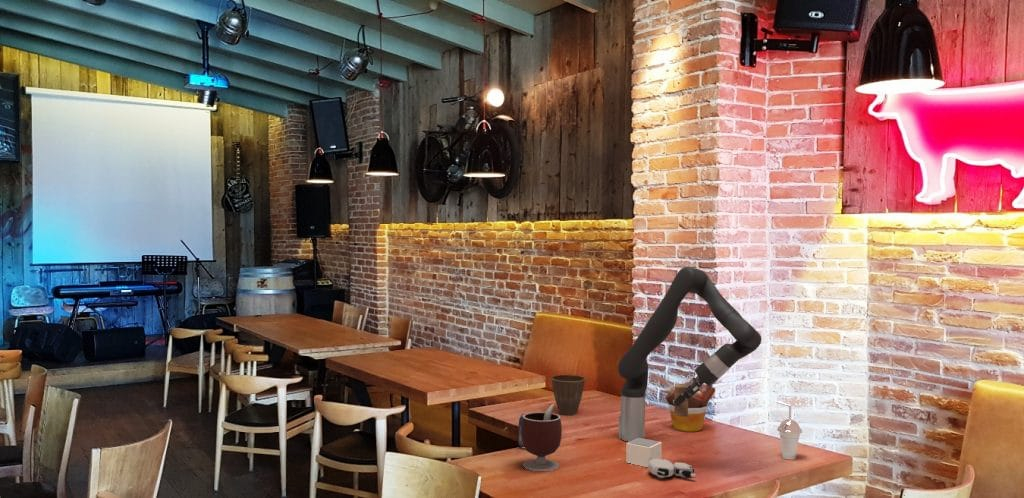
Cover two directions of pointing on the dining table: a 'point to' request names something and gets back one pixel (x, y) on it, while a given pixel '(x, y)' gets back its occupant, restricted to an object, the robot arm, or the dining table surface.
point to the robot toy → (670, 468)
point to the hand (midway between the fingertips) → (675, 402)
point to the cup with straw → (789, 436)
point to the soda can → (520, 431)
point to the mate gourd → (541, 438)
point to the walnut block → (683, 407)
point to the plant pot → (568, 392)
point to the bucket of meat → (690, 409)
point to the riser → (643, 451)
